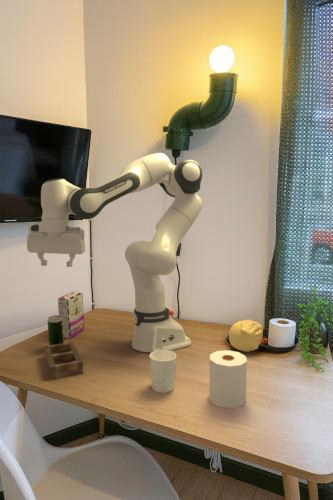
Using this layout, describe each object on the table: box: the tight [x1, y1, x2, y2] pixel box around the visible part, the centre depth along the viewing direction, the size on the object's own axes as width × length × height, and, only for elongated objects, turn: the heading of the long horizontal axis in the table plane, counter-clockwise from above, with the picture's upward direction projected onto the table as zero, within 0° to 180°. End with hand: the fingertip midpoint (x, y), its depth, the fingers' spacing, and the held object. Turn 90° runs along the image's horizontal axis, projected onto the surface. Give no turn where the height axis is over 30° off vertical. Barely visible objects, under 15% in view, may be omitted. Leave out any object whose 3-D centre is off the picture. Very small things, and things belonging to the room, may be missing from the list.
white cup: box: [149, 350, 177, 394], centre depth 113 cm, size 8×8×10 cm
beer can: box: [47, 314, 65, 346], centre depth 141 cm, size 5×5×12 cm
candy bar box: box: [57, 290, 85, 340], centre depth 156 cm, size 11×5×16 cm, turn 161°
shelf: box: [43, 341, 84, 381], centre depth 128 cm, size 10×18×4 cm, turn 24°
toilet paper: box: [208, 349, 248, 409], centre depth 107 cm, size 10×10×12 cm
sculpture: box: [228, 319, 264, 353], centre depth 141 cm, size 12×12×11 cm
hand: (56, 266), depth 134 cm, fingers open, 8 cm apart
